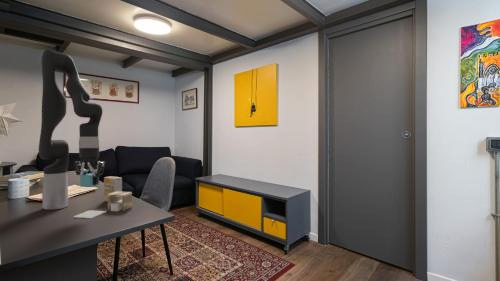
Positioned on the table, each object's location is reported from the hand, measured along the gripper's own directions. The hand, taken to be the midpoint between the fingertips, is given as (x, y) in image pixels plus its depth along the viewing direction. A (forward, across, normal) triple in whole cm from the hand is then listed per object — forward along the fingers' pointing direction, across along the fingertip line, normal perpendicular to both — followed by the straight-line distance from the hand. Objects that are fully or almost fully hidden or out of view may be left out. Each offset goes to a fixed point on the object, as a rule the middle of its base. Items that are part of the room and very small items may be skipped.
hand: (89, 184), depth 109 cm
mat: (+14, 0, 0) cm, 14 cm away
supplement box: (+14, -5, +22) cm, 26 cm away
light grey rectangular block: (+14, +7, +11) cm, 19 cm away
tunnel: (+14, +7, +10) cm, 19 cm away
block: (0, 0, 0) cm, 0 cm away
